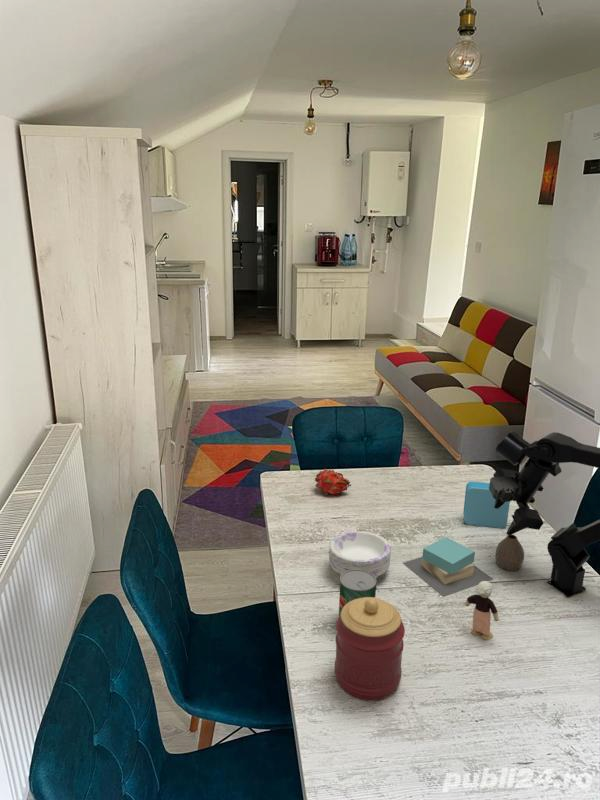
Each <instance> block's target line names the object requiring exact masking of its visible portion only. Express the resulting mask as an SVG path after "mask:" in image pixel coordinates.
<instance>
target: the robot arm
mask: <svg viewBox="0 0 600 800" xmlns="http://www.w3.org/2000/svg"><path fill="white" fill-rule="evenodd" d="M495 453H497V454H498V455H499V456H501V457H502V458H503V459H505V460H506V461H507V462H508V463H510V464H512V465H513V466H517V465H520V466H522V465H523V464H524V465H523V467H522V468H521V470H520V471H516V470H513V469H507V468H502V467H501V468H498V469H496V470H495V472H494V473H493V477H491V478H489V483H490V485H489V490H490V491H491V494H492V496H493V498H494V499H496V500H495V505H494V508H496V509H498V508H500V507H501V506H502V505H503V504H504V503H505V502H508V501H510V502H512V501H513V502H515V503H516V504H517V506H518V508H516V509H515V510H514V512H513V514H511V518H512V521H511V523H510V525H509V527H508V529H507V530H506V533H505V534H506V536H507V535H515V534H516V533H518V532H520V531H522V530H525V529H531V530H536V531H539V530H540V529H541V527H542V526H543V525H544V521H543V519H542V517H541V515H540V513H539V511H538V509H531V508H530V506H529V504H534V503H535V501H536V499H535V498H534V496H535V495H536V494H537V491H538V492H542V491H543V490H544V486H543V483H544V482H545V480H546V478H548V476H549V474H551V475H552V476H553V477H556V476H558V475H559V474H561V473H562V471H563V470H562V468H561V466H560V464H564V463H575V464H580V465H585V466H589V467H593V468H597V469H600V447H597V446H593V445H589V444H585V443H581V442H579V441H577V439H575V438H573V437H571V436H569V435H566V434H563V433H560V432H555V431H554V432H550V433H548V434H547V435H545V436H543V437H541V438H540V439H539V440H534V441H533V442H531V443H530V442H528V441H527V440H525V439H524V438H522V437H521V436H520V435H519V434H518V433H517V432H515V431H514V430H511V431H510V432H508V434H507V435H506V436H505V437H504V438H503V439H502V440H501V442H499V443H498V444H497V446H496V448H495ZM528 503H529V504H528ZM575 523H576V522H572V523H571V524H570V525H568V526H566V527H561V528H560V529H559V530H557V531H556V532H555V533H554V534H553V535H552V536H551V537H550V541H549V542H548V543H547V552H548V554H549V556H550V559H551V561H552V563H551V564H552V568H551V574H550V575H551V576H550V580H547V581H546V583H547V584H549V585H550V586H552V587H553V588H554V589H556V590H557V591H559V592H561V593H562V594H563V595H564V596H565V597H567V598H570V597H573V596H576V595H578V594H581V593H584V592H585V591H586V590H587V588H586V587H585V586H584V579H585V573H586V569H585V568H584V566H583V565H584V564H585V563H586V562H588V560H589V558H590V557H591V556H590V555H591V554H589V552H588V551H587V550H586V548H587V547H588V546H591V545H592V544H594V543H597V542H599V541H600V519H598V520H596V521H594V522H592V523H590V524H588V525H585V526H582V527H578V526H576V524H575Z"/></svg>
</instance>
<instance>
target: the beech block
mask: <svg viewBox="0 0 600 800" xmlns="http://www.w3.org/2000/svg"><path fill="white" fill-rule="evenodd" d="M421 557H423V555H421ZM474 565H475V564H474V563H471V564H470V565H468V566H466V567H464V568H463V569H461V570H459V571H458V572H456V573H454V574H452V575H451V574H449V573H447V572H445V571H444V570H442V569H440V568H438V567H436V566H435V565H433V564H431V563H429V562H427V561H425V560H424V559H422V567H423V568H424V569H426V570H427V571H428V572H429V573H431V574H432V575H433V576H434V577H436V578H437V579H438V580H439V581H441V582H442V583H443V584H444V585H446V584H449V583H452V582H455V581H458V580H461V579H464V578H467V577H470V576H473V571H474Z"/></svg>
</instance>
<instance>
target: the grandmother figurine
mask: <svg viewBox="0 0 600 800" xmlns="http://www.w3.org/2000/svg"><path fill="white" fill-rule="evenodd" d="M491 583H492V582H490V581H482V582H480V583H479V584H478V585H476V588H475V592H476V594H473V595H470V596H468V597H467V598H466V600H465V602H464V605H465V607H469V606H470V605H471V604H472V605H475V606H474V610H473V615H472V629H471V631H470V633H471V634H472V635H474V636H479V635H480V634H481V635H480V638H481V639H483V640H485V641H486V640H490V639H492V638H493V636H494V635H493V633H492V632H491V619H492V618H491V614H492V616H493V620H494V621H495V622H499V619H500V618H499V613H498V609H497V607H496V605H495V603H494V601H493V600H492V599H490V598H489V597H490V596H491V594H492V592H493V585H492V584H491Z"/></svg>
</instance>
